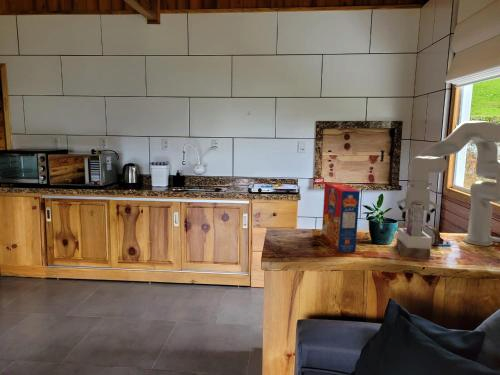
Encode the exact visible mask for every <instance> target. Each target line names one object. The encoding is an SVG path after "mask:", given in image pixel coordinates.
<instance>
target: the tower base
mask: <svg viewBox="0 0 500 375" xmlns="http://www.w3.org/2000/svg"><path fill="white" fill-rule="evenodd" d="M396 248H397V250H398V253H399V256H400V257H408V258H416V259H427V260H431V251H432V250H431V249H422V248H407V247H406V246H405V245H404V244H403V243H402V242H401V241H400V240H399V239H398V238H397V237H396Z"/></svg>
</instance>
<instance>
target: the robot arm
mask: <svg viewBox="0 0 500 375" xmlns="http://www.w3.org/2000/svg"><path fill="white" fill-rule="evenodd" d="M470 141H472V142H473V143H474V145H475V147H476V150H477V155H476V164H475V165H476V166H475V174H476V175H477V177H478V178H481V179H486V180H478V181H474V182H473V183H472V184H471V186H470V189H469V190H470V191H469V192H470V210H469V218H468V226H467V227H468V228H467V235H466V236H465V237H464V238H463V241H464V242H465V243H467V244H471V245H476V246H485V247H486V246H488V247H489V246H492V245H493V242H499V243H500V237H497V236H492V235H491V227H492V218H493V206H492V203H491V202H493V203H497V204H500V159H499V160H498V153H499V150H498V146H497V143H500V123H497V122H496V123H495V122H491V121H484V120H472V121H471V120H469V121H463V122H461V123H460V124H459V125H457V126H456V127H455V129H454V130H452V131H451V132H450V134H448V135H447V136H446V138H444V139H442V140H440V141H438V142H435V143H434V144H432V145H429V146H428V147H426V148H425V149H423V150H422V151H421V152H420V153H419V154H418V155H417V156H414V157H412V158H411V164H410V176H409V177H410V178H409V185H407V188H406V193H405V197H404V198H402V199H400V200H397V201H396V204H397V207H398V208H399V210H400V211H401V219H403V221H404V222H405V221H406V218H407V217H406V215H407V212H406V211H408V208H409V209H410V208H411V203H423V204H424V211H426V217H425V222H426V224H429V222H431V215H432V214H433V213H434V212H436V211H437V209H438V207H439V205H438V204H437V203H435V202H434V201H431V194H430V191H431V190H430V187H429V186H433V185H432V184H433V183H432V181H429V178H430V176H429V175H430V174H442V173H443V172H445V171H446V169H448V162H447V160H446V159H445V158H444V157H446V156H450V155H451V156H452V155H454V154H457V153H459V152H461V150H462V149H464V147H465V146H466V145H468V143H470ZM487 180H492V181H487ZM493 180H495V181H496V182H495V181H493ZM402 203H404V207H403V206H402V205H401V204H402ZM430 205H431V206H433V207H432V209H430Z"/></svg>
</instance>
